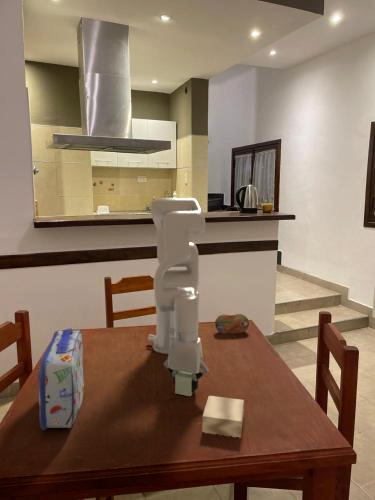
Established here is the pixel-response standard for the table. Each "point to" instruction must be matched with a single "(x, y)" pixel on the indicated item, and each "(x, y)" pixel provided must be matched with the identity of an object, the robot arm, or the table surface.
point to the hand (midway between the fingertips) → (185, 388)
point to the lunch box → (61, 380)
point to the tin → (231, 323)
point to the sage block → (183, 383)
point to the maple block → (223, 416)
